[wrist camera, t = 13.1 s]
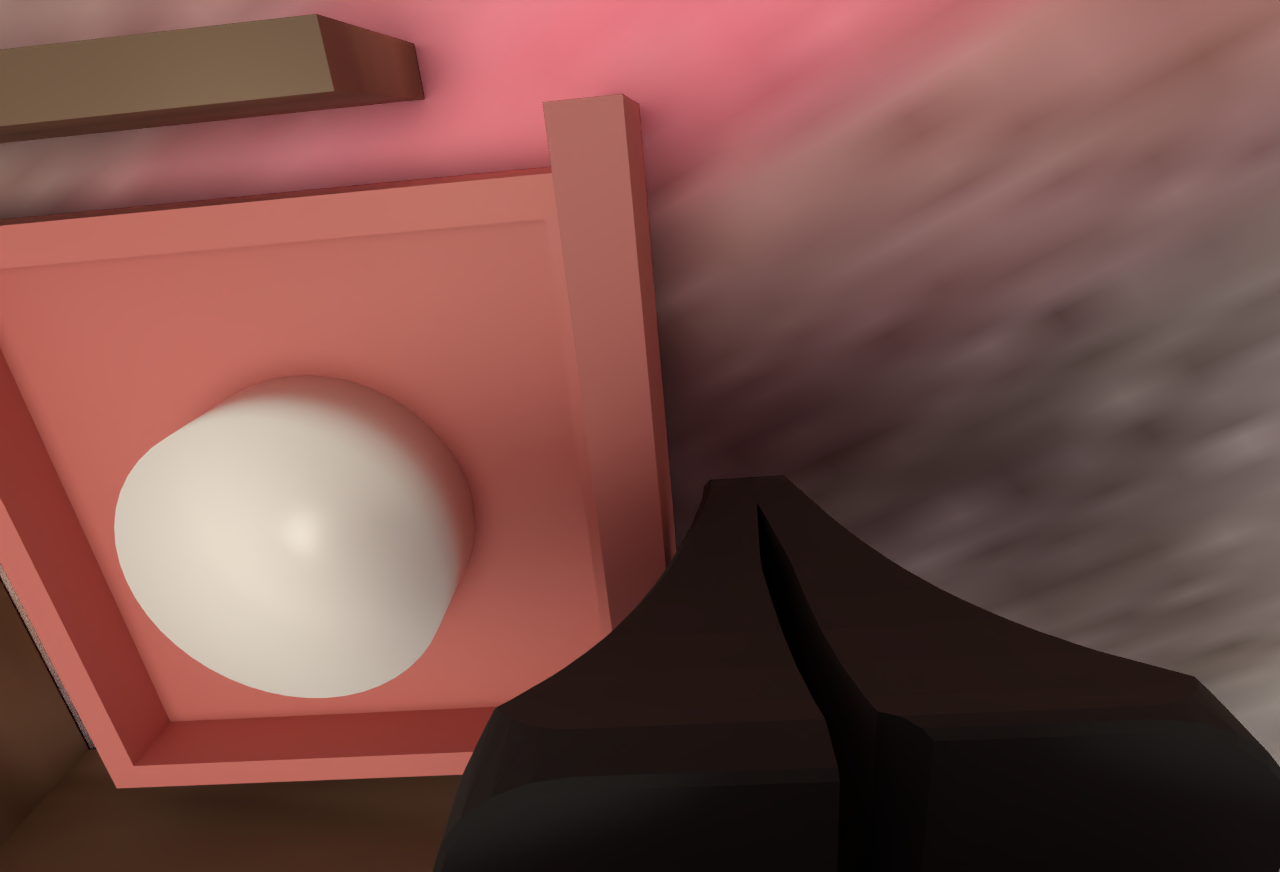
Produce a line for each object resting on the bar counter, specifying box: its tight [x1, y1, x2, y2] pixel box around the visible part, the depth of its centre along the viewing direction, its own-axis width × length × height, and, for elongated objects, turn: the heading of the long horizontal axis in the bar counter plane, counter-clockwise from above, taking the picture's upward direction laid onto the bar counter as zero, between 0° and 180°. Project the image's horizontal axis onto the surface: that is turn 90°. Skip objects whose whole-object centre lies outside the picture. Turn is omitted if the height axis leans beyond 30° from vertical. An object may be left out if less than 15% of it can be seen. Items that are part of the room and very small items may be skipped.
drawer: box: [0, 94, 676, 788], centre depth 12 cm, size 13×12×5 cm
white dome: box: [114, 375, 475, 698], centre depth 13 cm, size 5×5×2 cm
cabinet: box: [0, 14, 462, 872], centre depth 13 cm, size 15×12×4 cm
